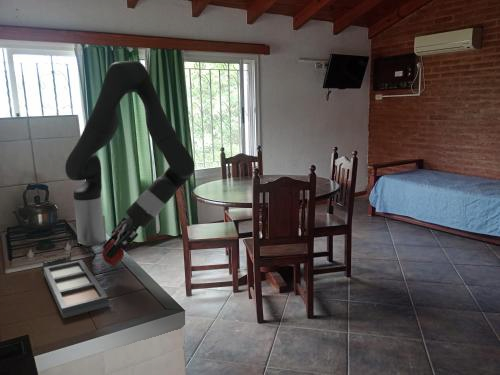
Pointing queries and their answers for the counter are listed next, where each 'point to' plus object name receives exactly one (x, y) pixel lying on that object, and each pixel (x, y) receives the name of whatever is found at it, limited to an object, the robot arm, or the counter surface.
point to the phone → (56, 262)
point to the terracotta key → (80, 296)
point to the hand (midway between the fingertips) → (106, 252)
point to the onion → (116, 258)
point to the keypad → (74, 287)
